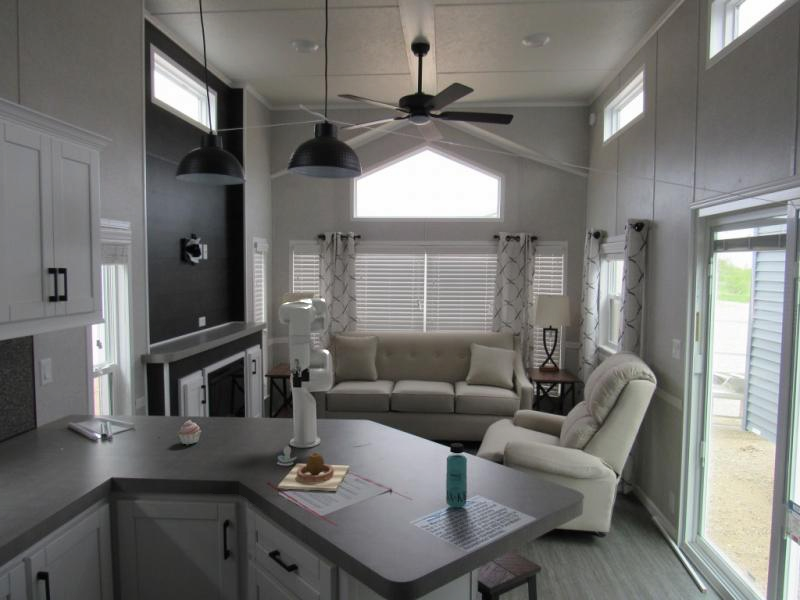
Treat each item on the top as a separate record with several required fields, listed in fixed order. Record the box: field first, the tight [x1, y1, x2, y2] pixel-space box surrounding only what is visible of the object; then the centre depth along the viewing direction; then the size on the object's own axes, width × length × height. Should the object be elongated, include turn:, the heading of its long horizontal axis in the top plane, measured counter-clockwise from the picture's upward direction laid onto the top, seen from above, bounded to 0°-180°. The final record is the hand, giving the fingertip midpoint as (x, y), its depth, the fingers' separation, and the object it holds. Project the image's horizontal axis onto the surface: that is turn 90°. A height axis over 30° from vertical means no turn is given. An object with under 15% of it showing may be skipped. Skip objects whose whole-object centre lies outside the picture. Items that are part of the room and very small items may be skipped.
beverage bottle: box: [445, 442, 468, 508], centre depth 166 cm, size 6×7×20 cm
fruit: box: [305, 452, 325, 475], centre depth 190 cm, size 6×6×8 cm
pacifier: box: [276, 445, 298, 467], centre depth 205 cm, size 7×6×6 cm
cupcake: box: [177, 419, 202, 445], centre depth 229 cm, size 9×9×10 cm
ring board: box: [277, 463, 351, 492], centre depth 190 cm, size 20×20×3 cm
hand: (301, 384), depth 203 cm, fingers open, 9 cm apart
